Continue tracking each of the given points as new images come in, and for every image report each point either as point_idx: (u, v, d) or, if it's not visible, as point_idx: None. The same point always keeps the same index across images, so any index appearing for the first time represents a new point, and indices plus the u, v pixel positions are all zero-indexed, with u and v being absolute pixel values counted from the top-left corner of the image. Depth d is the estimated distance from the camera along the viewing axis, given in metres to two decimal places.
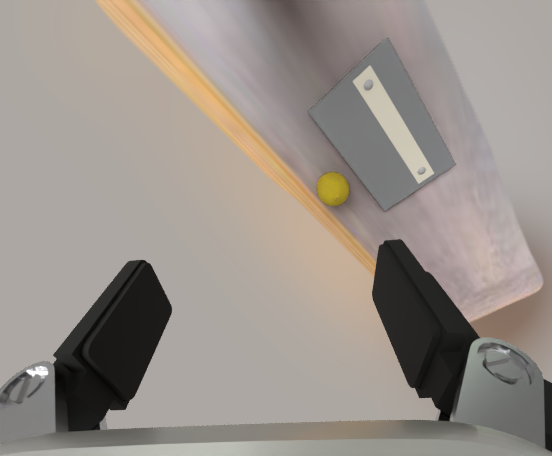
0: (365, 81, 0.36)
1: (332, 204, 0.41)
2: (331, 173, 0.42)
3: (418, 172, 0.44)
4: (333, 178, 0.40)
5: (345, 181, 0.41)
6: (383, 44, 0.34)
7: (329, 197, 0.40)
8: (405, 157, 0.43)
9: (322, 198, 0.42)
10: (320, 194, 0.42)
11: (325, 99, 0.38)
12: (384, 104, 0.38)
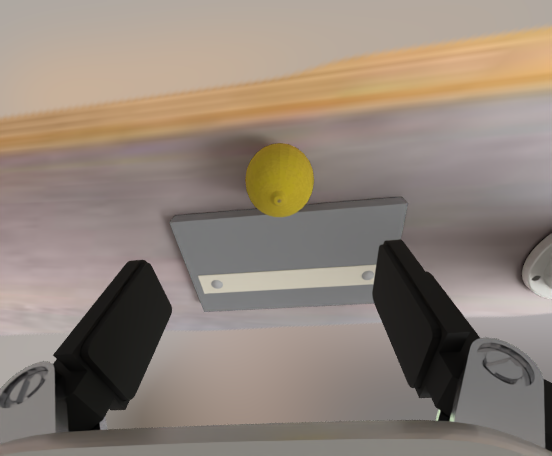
0: (373, 274, 0.28)
1: (264, 178, 0.17)
2: None
3: (217, 281, 0.29)
4: (307, 201, 0.19)
5: None
6: None
7: (287, 184, 0.17)
8: (248, 275, 0.29)
9: (287, 162, 0.17)
10: (296, 162, 0.17)
11: (400, 230, 0.25)
12: (333, 279, 0.29)
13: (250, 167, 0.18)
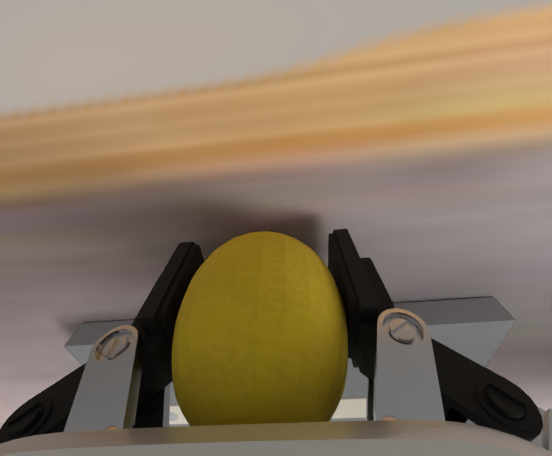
0: None
1: (206, 401, 0.05)
2: None
3: None
4: None
5: None
6: None
7: None
8: None
9: (281, 346, 0.05)
10: (309, 331, 0.06)
11: (488, 355, 0.14)
12: (359, 411, 0.18)
13: (179, 324, 0.07)
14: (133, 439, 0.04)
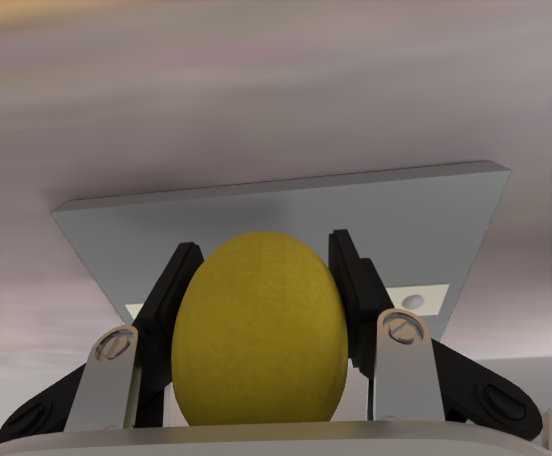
0: (422, 300, 0.17)
1: (206, 401, 0.05)
2: None
3: None
4: None
5: None
6: (439, 335, 0.19)
7: None
8: None
9: (281, 346, 0.05)
10: (308, 331, 0.06)
11: (484, 224, 0.13)
12: None
13: (179, 324, 0.07)
14: (133, 439, 0.04)
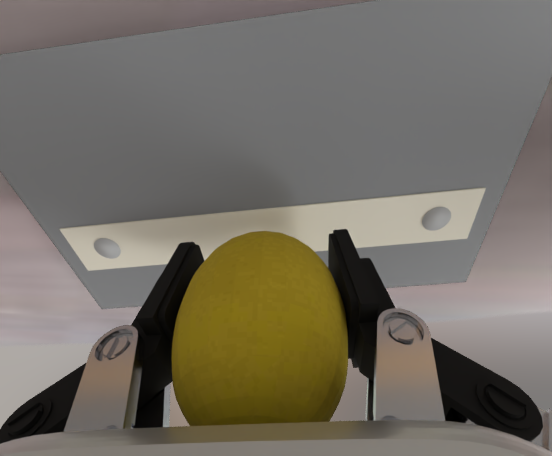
0: (448, 216, 0.13)
1: (206, 400, 0.05)
2: None
3: (104, 240, 0.13)
4: None
5: None
6: (466, 271, 0.15)
7: None
8: (172, 226, 0.13)
9: (281, 346, 0.05)
10: (308, 331, 0.06)
11: (543, 81, 0.10)
12: (358, 231, 0.13)
13: (179, 323, 0.07)
14: (133, 439, 0.04)
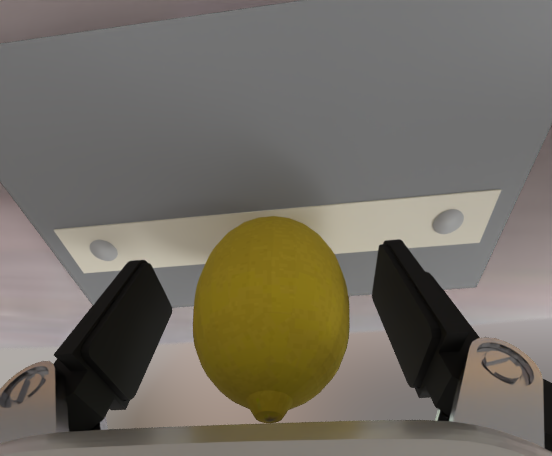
0: (461, 219, 0.12)
1: (228, 351, 0.06)
2: None
3: (100, 241, 0.13)
4: None
5: None
6: (477, 277, 0.14)
7: (293, 373, 0.06)
8: (171, 228, 0.13)
9: (293, 305, 0.06)
10: (315, 295, 0.07)
11: None
12: (365, 234, 0.13)
13: (200, 292, 0.07)
14: (133, 439, 0.04)
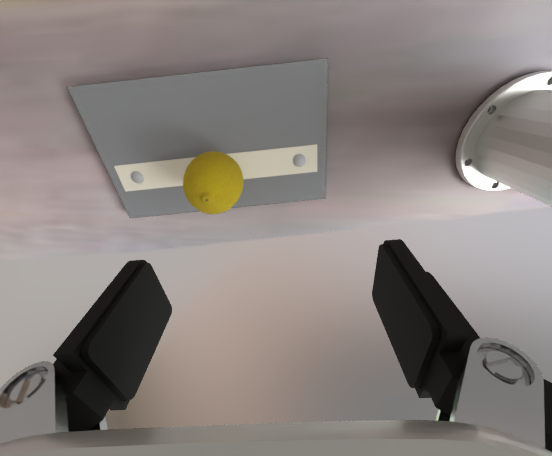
0: (305, 159, 0.27)
1: (194, 181, 0.20)
2: None
3: (136, 172, 0.27)
4: (237, 199, 0.23)
5: None
6: (324, 191, 0.29)
7: (213, 186, 0.20)
8: (171, 164, 0.27)
9: (214, 168, 0.21)
10: (222, 167, 0.21)
11: (324, 97, 0.24)
12: (263, 167, 0.27)
13: (185, 172, 0.22)
14: (133, 439, 0.04)
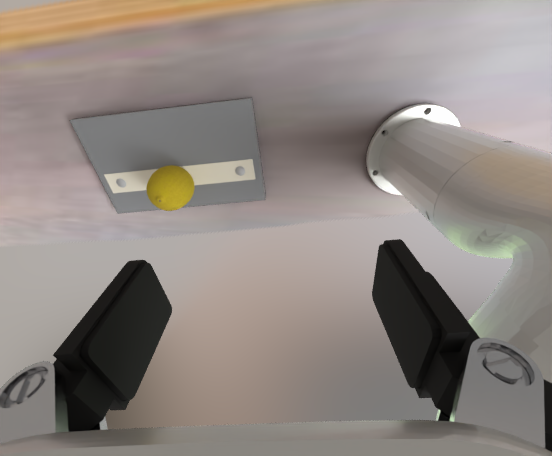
0: (244, 169, 0.35)
1: (151, 187, 0.29)
2: (192, 195, 0.33)
3: (120, 179, 0.36)
4: (186, 200, 0.32)
5: None
6: (263, 194, 0.37)
7: (164, 191, 0.29)
8: (145, 173, 0.36)
9: (165, 178, 0.29)
10: (172, 178, 0.30)
11: (252, 125, 0.32)
12: (214, 176, 0.36)
13: (148, 180, 0.31)
14: (133, 439, 0.04)
